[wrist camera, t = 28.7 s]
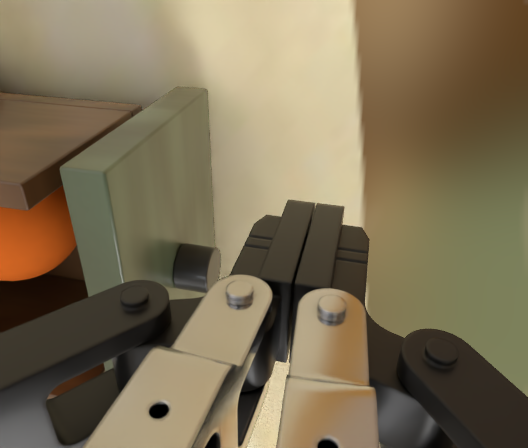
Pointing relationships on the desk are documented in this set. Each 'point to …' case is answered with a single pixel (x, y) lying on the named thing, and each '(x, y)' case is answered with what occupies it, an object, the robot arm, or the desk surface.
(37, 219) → the ball
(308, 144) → the desk surface
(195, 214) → the drawer
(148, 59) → the desk surface
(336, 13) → the desk surface
